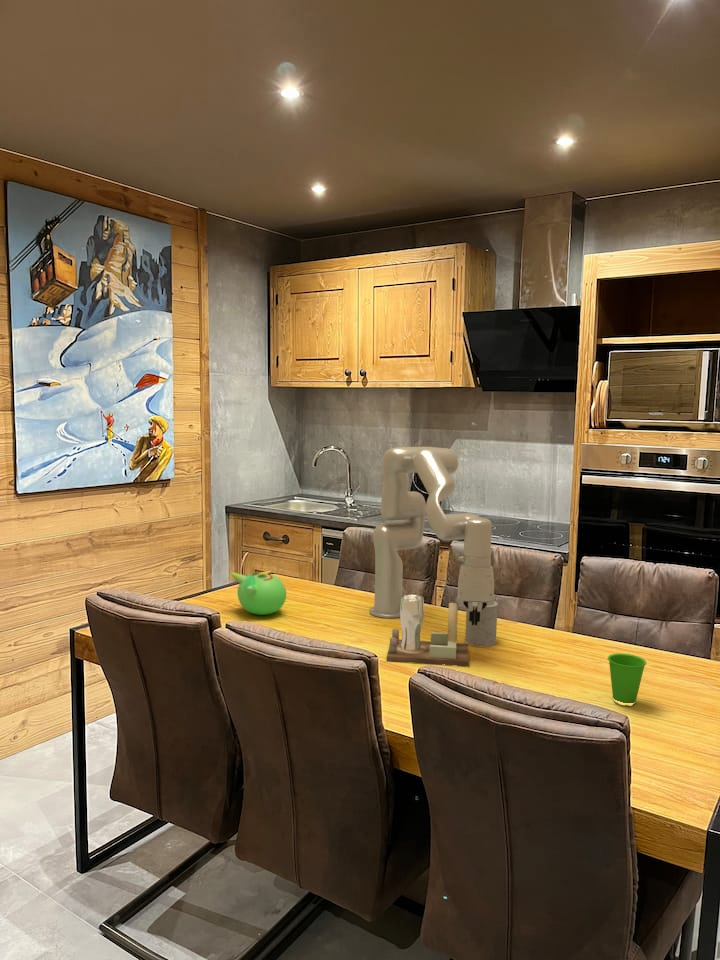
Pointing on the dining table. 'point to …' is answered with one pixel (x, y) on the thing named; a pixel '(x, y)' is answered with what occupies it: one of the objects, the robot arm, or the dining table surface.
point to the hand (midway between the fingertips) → (474, 623)
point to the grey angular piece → (446, 637)
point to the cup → (625, 676)
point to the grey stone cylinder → (482, 627)
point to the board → (424, 653)
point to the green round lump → (260, 592)
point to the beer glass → (411, 621)
